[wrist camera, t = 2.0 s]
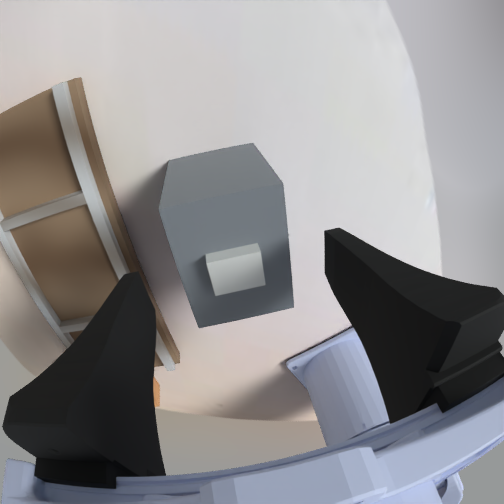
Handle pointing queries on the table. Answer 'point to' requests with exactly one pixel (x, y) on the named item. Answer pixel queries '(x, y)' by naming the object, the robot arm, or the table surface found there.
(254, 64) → the table surface
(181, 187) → the block
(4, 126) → the rail board
